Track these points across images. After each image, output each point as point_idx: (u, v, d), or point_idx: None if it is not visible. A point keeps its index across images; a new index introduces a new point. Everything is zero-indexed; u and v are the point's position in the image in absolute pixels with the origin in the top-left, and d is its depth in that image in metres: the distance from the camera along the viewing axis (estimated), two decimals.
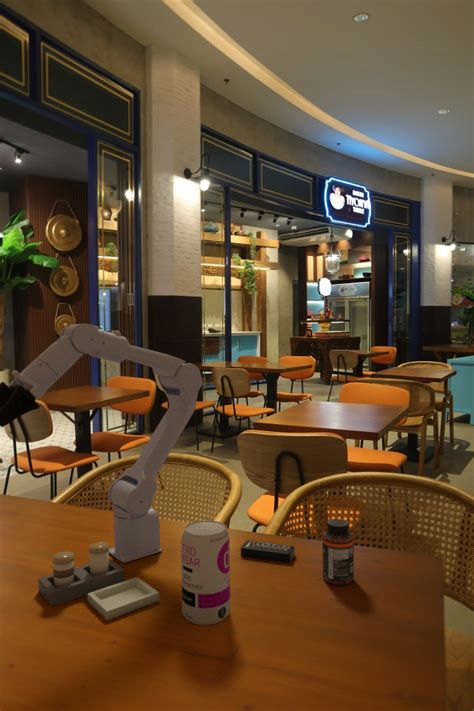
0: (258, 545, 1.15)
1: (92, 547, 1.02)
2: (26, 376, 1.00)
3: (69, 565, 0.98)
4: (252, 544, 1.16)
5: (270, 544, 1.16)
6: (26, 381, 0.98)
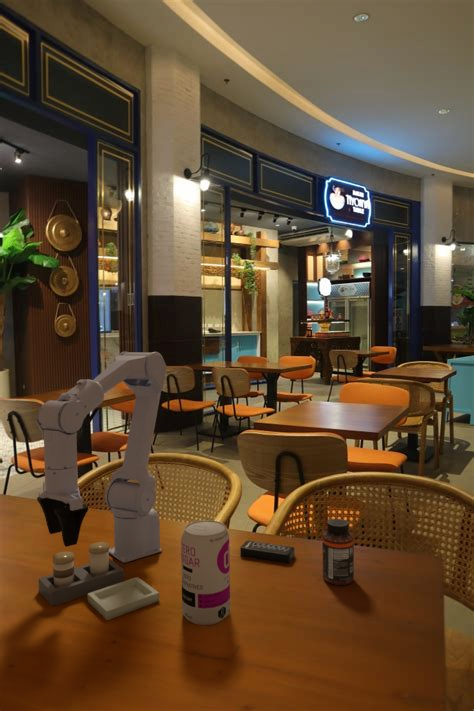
0: (258, 545, 1.15)
1: (92, 547, 1.02)
2: (53, 492, 0.95)
3: (69, 565, 0.98)
4: (252, 544, 1.16)
5: (270, 545, 1.16)
6: (58, 499, 0.94)
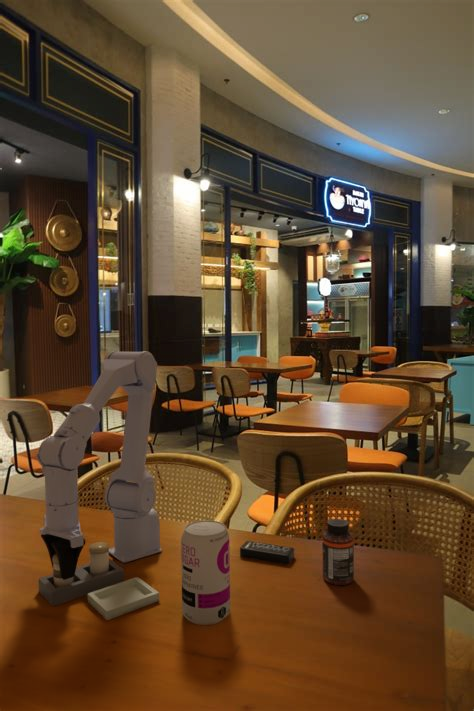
0: (258, 546, 1.15)
1: (92, 547, 1.02)
2: (54, 528, 0.96)
3: None
4: (252, 545, 1.16)
5: (270, 545, 1.15)
6: (59, 535, 0.95)
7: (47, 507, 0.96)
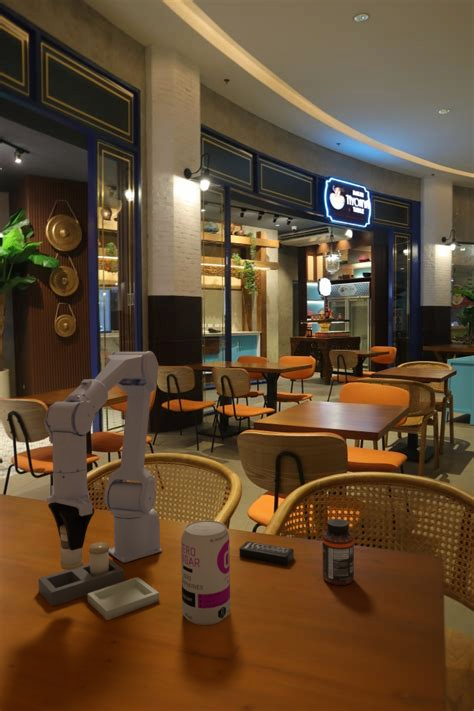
0: (257, 547, 1.15)
1: (92, 547, 1.02)
2: (62, 496, 0.92)
3: None
4: (251, 545, 1.15)
5: (269, 546, 1.15)
6: (67, 503, 0.91)
7: (55, 474, 0.93)
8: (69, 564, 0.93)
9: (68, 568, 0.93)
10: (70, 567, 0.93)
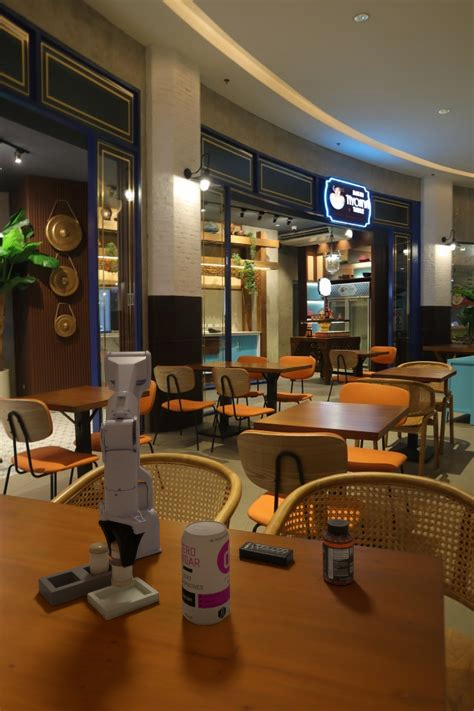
0: (257, 547, 1.14)
1: (92, 547, 1.02)
2: (115, 514, 0.92)
3: None
4: (251, 546, 1.15)
5: (269, 547, 1.15)
6: (121, 521, 0.91)
7: (107, 492, 0.93)
8: (120, 581, 0.94)
9: (119, 585, 0.94)
10: (121, 584, 0.94)
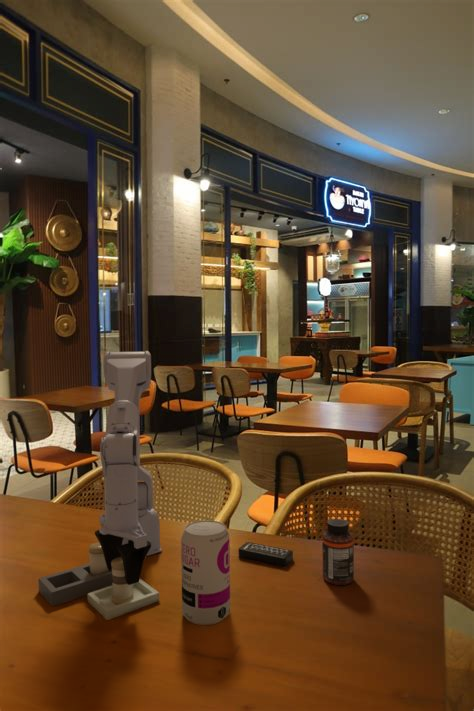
0: (256, 547, 1.14)
1: (92, 547, 1.02)
2: (115, 528, 0.92)
3: None
4: (251, 546, 1.15)
5: (269, 547, 1.14)
6: (121, 536, 0.91)
7: (107, 506, 0.93)
8: (121, 599, 0.94)
9: (120, 603, 0.94)
10: (122, 602, 0.94)
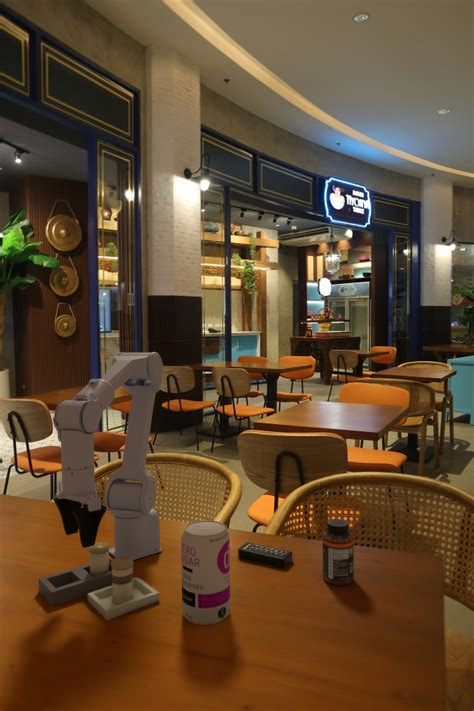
0: (256, 548, 1.14)
1: (92, 547, 1.02)
2: (71, 492, 0.94)
3: (128, 571, 0.94)
4: (250, 546, 1.15)
5: (269, 548, 1.14)
6: (76, 499, 0.93)
7: (63, 471, 0.95)
8: (121, 599, 0.94)
9: (120, 603, 0.94)
10: (122, 602, 0.94)
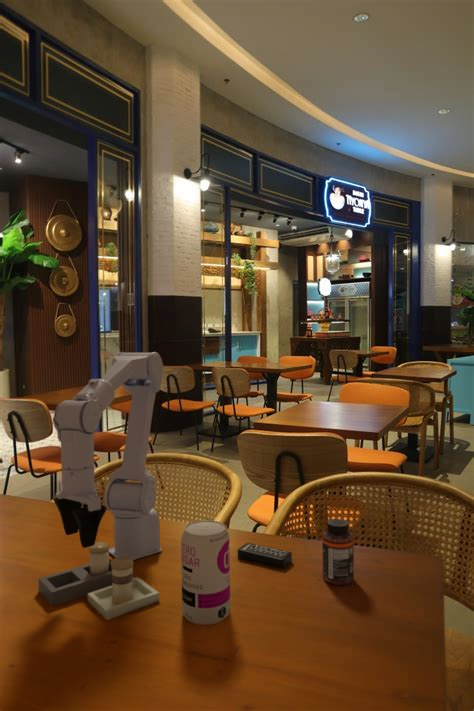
0: (256, 548, 1.14)
1: (92, 547, 1.02)
2: (71, 492, 0.94)
3: (128, 571, 0.94)
4: (250, 547, 1.14)
5: (268, 548, 1.14)
6: (76, 499, 0.93)
7: (63, 471, 0.95)
8: (121, 599, 0.94)
9: (120, 603, 0.94)
10: (122, 602, 0.94)
